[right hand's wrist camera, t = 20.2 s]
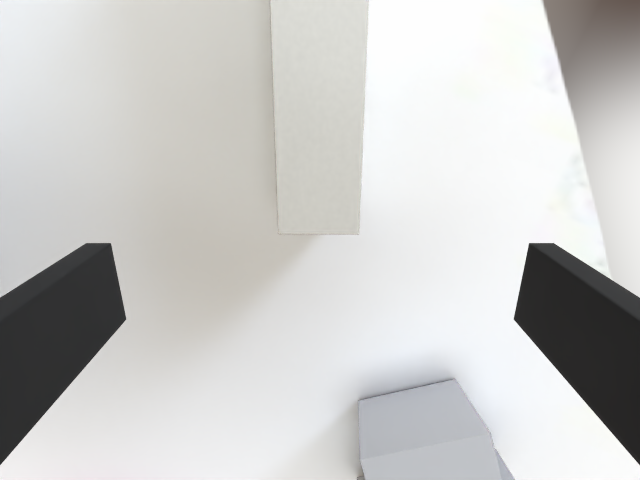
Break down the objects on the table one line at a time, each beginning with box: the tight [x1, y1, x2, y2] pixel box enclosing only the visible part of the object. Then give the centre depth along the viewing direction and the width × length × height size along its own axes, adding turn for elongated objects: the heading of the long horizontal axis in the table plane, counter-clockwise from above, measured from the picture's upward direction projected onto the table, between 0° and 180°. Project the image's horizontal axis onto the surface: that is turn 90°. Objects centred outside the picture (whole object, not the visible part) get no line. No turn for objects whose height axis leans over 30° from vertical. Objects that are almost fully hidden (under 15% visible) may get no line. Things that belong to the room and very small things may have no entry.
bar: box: [270, 0, 369, 234], centre depth 26 cm, size 28×6×8 cm, turn 0°
